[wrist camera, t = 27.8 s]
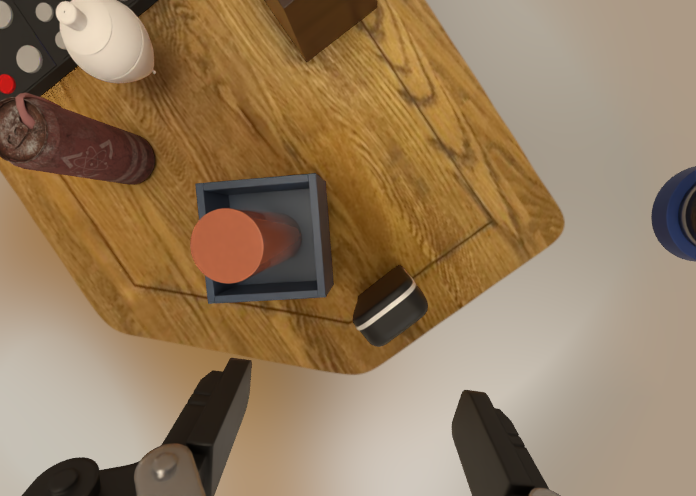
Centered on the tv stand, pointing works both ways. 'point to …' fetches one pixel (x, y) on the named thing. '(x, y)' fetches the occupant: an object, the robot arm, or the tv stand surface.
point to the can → (70, 143)
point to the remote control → (36, 45)
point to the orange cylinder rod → (242, 243)
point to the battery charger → (389, 307)
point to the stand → (318, 20)
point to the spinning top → (106, 40)
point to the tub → (310, 214)
